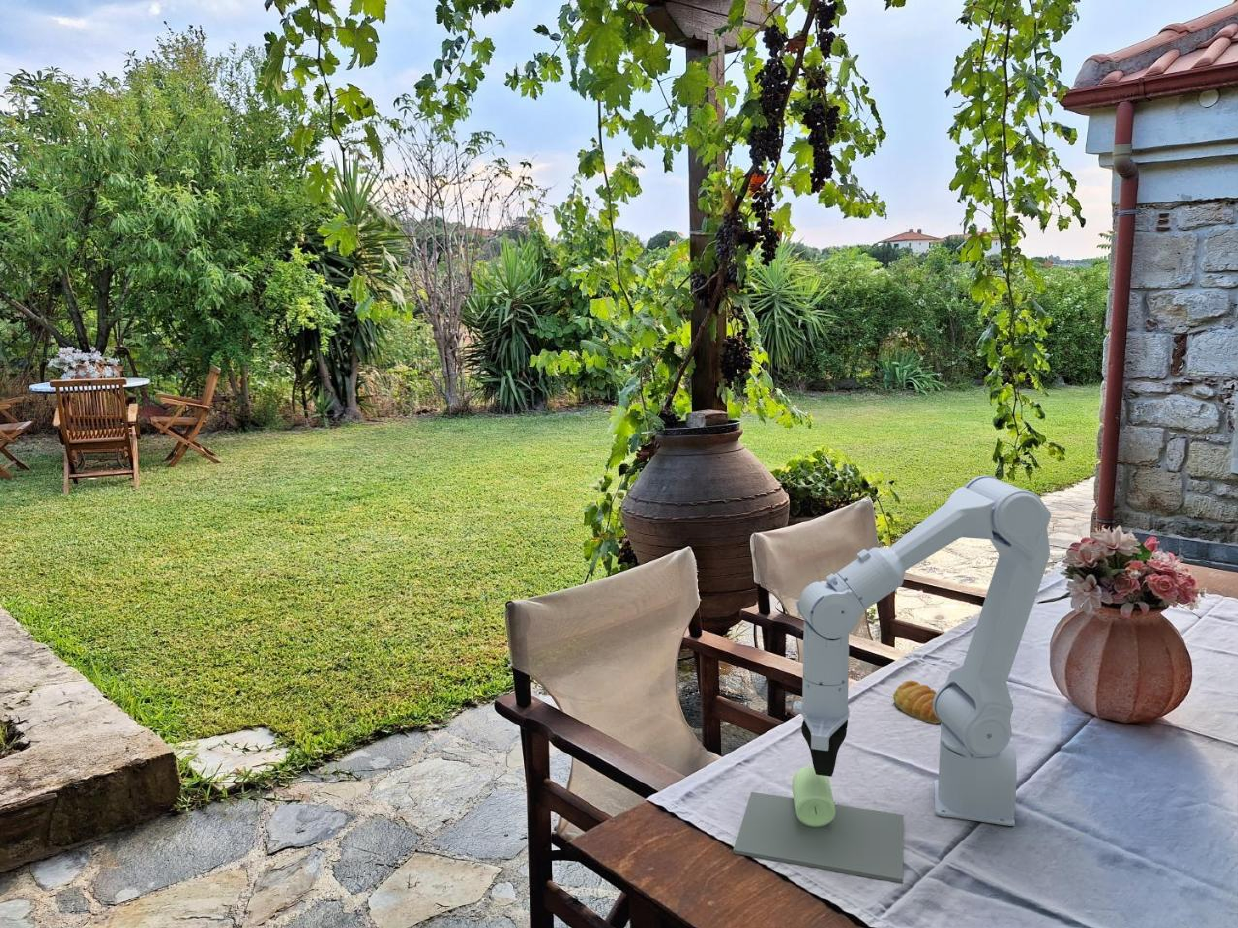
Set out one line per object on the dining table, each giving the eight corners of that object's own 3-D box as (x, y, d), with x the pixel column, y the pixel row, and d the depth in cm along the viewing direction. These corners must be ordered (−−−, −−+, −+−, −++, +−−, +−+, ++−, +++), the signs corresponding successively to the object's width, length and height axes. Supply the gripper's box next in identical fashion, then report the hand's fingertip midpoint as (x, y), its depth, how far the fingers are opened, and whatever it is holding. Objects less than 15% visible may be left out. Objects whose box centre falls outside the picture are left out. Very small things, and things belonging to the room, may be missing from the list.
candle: (832, 799, 116) (838, 832, 108) (794, 801, 117) (798, 834, 109) (827, 764, 116) (833, 794, 107) (790, 767, 116) (793, 797, 108)
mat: (903, 817, 112) (903, 814, 112) (902, 882, 100) (902, 879, 100) (751, 794, 118) (751, 791, 118) (733, 853, 106) (733, 849, 106)
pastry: (960, 720, 137) (961, 698, 136) (927, 730, 134) (928, 708, 133) (919, 696, 145) (920, 675, 144) (887, 704, 143) (888, 683, 142)
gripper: (800, 650, 117) (799, 740, 120) (786, 698, 103) (785, 799, 106) (853, 655, 115) (851, 747, 117) (846, 705, 101) (844, 808, 104)
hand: (824, 772), depth 112 cm, fingers closed
